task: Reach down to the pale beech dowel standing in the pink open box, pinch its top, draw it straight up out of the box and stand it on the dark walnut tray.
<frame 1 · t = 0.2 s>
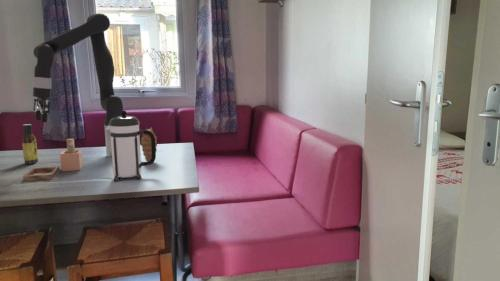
hand: (40, 121, 181), 23 cm above the table, fingers open, 8 cm apart
pink open box: (72, 170, 180), on the table
coffee press: (130, 177, 169), on the table
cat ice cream: (150, 162, 195), on the table
dowel: (72, 168, 179), point 1 cm above the table, touching pink open box
tray: (42, 177, 168), on the table
sauce bottle: (31, 163, 193), on the table
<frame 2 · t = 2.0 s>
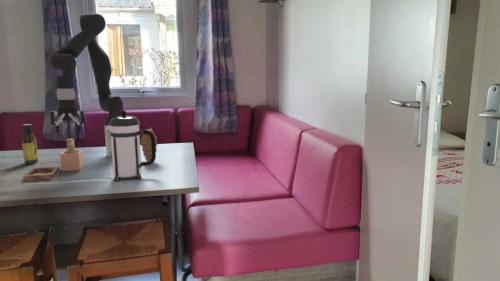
hand: (69, 133, 176), 18 cm above the table, fingers open, 8 cm apart
nothing on the table moved.
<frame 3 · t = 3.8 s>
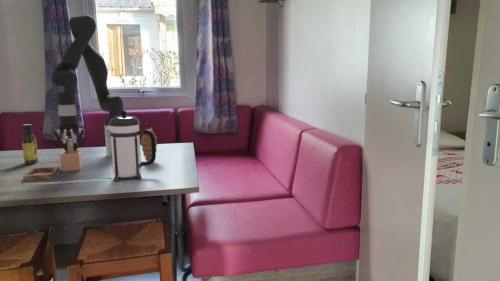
hand: (71, 150, 178), 10 cm above the table, fingers closed on dowel, 3 cm apart
dowel: (72, 168, 179), point 1 cm above the table, touching pink open box, gripper
everything else where it was.
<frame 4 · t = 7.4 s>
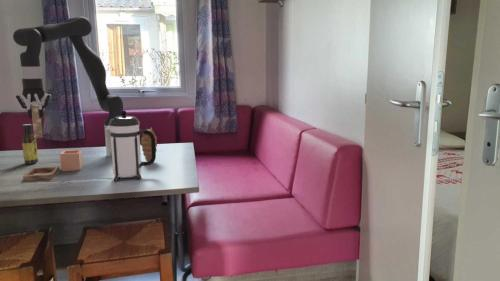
hand: (36, 117, 162), 27 cm above the table, fingers closed on dowel, 3 cm apart
dowel: (38, 137, 164), point 18 cm above the table, touching gripper
everything else where it was.
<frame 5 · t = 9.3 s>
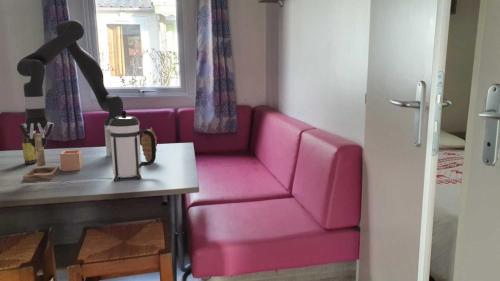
hand: (39, 146, 165), 14 cm above the table, fingers closed on dowel, 3 cm apart
dowel: (41, 165, 166), point 6 cm above the table, touching gripper
everything else where it was.
when the fingers open (10 cm above the table, at t = 11.0 s): dowel stays where it is, resting on tray.
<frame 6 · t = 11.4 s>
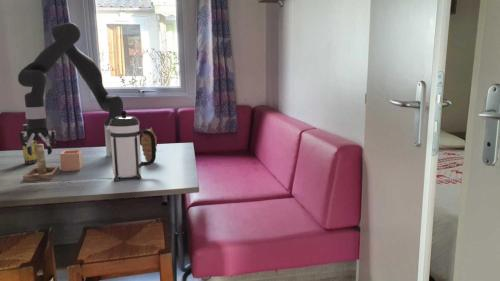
hand: (40, 154, 166), 11 cm above the table, fingers open, 6 cm apart
dowel: (42, 175, 167), point 1 cm above the table, touching tray
everything else where it was.
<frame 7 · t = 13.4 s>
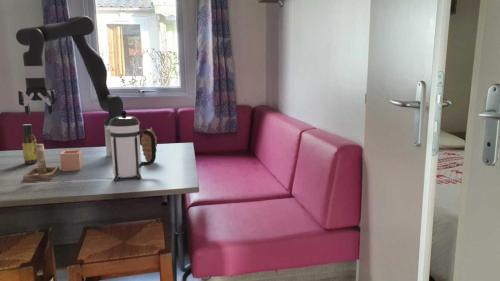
hand: (39, 114, 164), 28 cm above the table, fingers open, 8 cm apart
nothing on the table moved.
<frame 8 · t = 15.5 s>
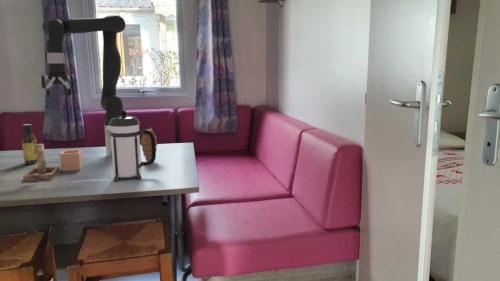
hand: (59, 96, 183), 34 cm above the table, fingers open, 8 cm apart
nothing on the table moved.
at the end: dowel inside the target area on the tray (0.0 cm from its centre), point 1.0 cm above the tray's base; the gripper is holding nothing; dowel touching tray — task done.
